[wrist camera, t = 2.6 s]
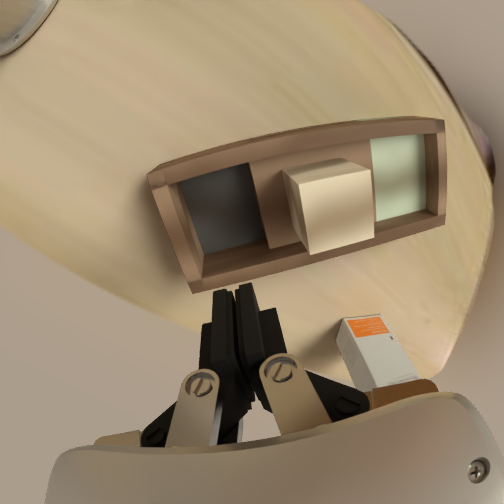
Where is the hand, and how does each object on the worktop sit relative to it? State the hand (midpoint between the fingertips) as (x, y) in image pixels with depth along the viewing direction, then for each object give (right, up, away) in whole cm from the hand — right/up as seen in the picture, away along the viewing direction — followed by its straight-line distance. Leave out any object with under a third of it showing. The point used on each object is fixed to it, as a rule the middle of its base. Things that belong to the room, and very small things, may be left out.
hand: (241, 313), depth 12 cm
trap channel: (+6, +9, +12) cm, 16 cm away
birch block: (+6, +8, +10) cm, 14 cm away
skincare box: (+14, -7, +21) cm, 27 cm away
